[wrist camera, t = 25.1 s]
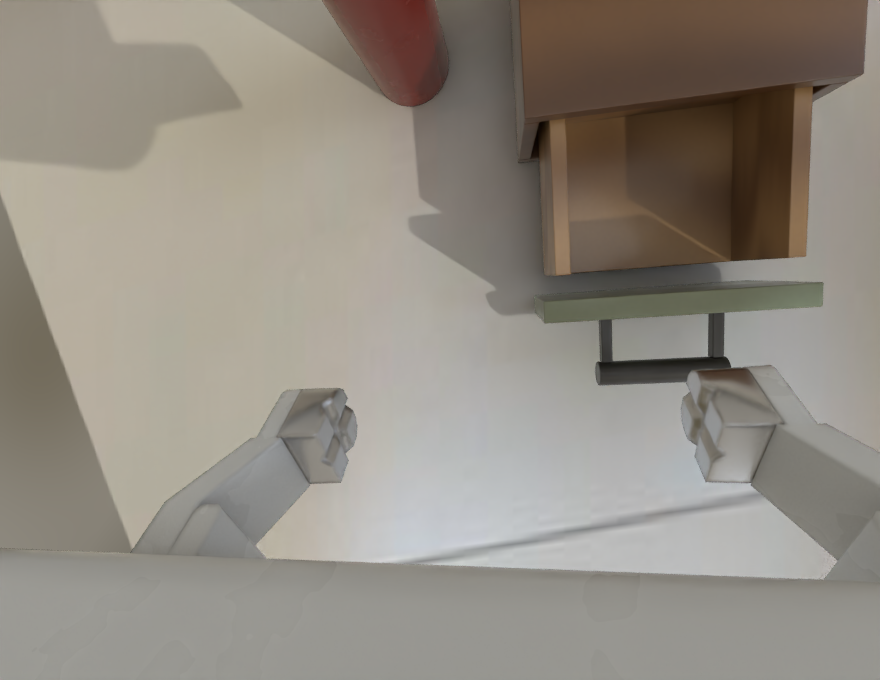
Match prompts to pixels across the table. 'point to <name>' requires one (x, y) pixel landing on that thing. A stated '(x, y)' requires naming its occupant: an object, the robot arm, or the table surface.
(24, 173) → the table surface
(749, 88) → the cabinet
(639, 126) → the drawer
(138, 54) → the table surface
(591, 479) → the table surface
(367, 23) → the tea tin
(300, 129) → the table surface
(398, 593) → the robot arm
